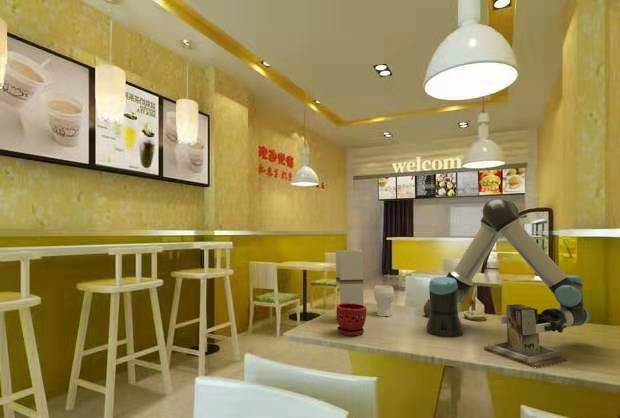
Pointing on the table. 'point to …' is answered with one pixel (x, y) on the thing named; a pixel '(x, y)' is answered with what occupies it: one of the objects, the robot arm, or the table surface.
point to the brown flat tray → (543, 359)
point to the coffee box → (522, 329)
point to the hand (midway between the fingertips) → (518, 324)
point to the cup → (384, 299)
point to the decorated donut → (474, 315)
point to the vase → (427, 308)
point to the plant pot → (351, 318)
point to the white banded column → (350, 276)
